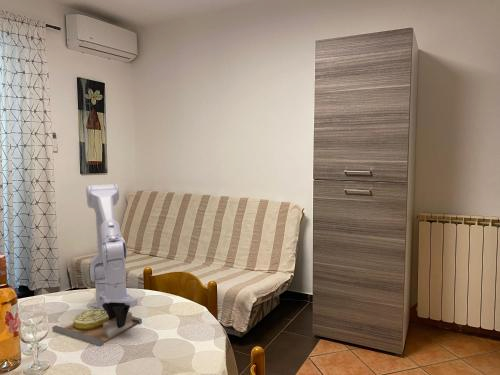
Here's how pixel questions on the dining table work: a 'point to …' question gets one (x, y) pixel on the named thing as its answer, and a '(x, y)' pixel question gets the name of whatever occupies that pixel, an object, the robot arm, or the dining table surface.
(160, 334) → the dining table surface
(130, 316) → the brown square board
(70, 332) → the rails
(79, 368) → the dining table surface
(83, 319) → the decorated donut
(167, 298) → the dining table surface
